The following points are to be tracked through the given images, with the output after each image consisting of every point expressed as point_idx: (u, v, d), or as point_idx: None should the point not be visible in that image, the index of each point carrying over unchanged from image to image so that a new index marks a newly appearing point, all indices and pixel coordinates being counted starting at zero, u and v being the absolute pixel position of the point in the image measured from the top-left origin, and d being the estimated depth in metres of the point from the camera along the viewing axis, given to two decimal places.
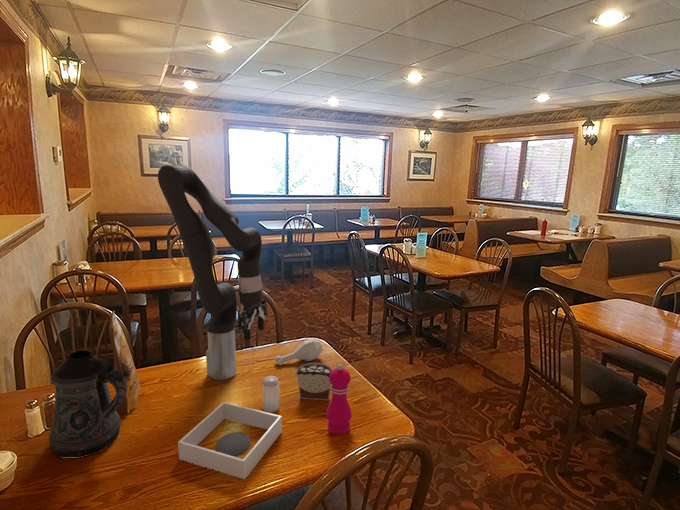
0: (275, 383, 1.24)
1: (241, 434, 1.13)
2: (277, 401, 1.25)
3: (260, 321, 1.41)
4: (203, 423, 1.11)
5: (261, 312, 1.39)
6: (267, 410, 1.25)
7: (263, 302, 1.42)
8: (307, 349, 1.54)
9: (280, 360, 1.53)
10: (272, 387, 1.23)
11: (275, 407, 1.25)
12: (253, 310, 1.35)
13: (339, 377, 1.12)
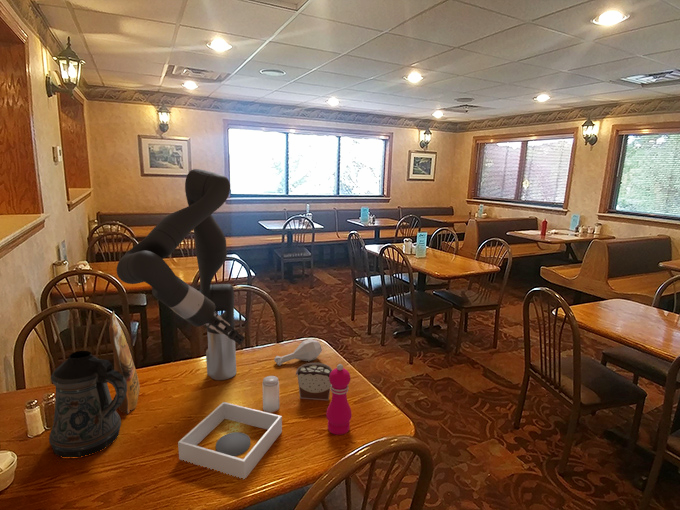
0: (275, 383, 1.24)
1: (241, 434, 1.13)
2: (277, 401, 1.25)
3: None
4: (203, 423, 1.11)
5: (217, 331, 1.07)
6: (267, 410, 1.25)
7: None
8: (306, 349, 1.54)
9: (279, 360, 1.52)
10: (272, 387, 1.23)
11: (275, 407, 1.25)
12: None
13: (339, 377, 1.12)
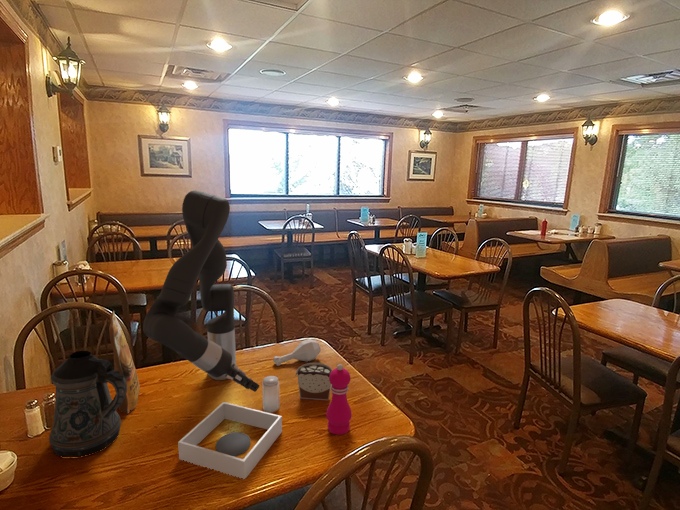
0: (275, 383, 1.24)
1: (241, 434, 1.13)
2: (277, 401, 1.25)
3: None
4: (203, 423, 1.11)
5: None
6: (267, 410, 1.25)
7: None
8: (305, 349, 1.54)
9: (278, 360, 1.52)
10: (272, 387, 1.23)
11: (275, 407, 1.25)
12: None
13: (339, 377, 1.12)
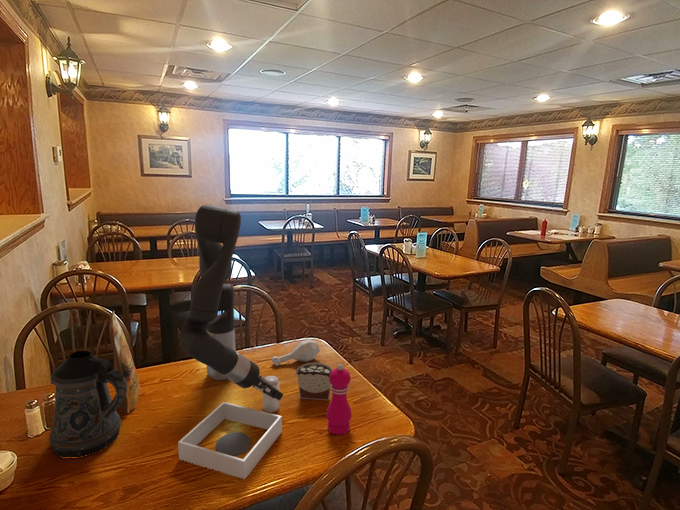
0: (275, 383, 1.24)
1: (241, 434, 1.13)
2: (277, 401, 1.25)
3: None
4: (203, 423, 1.11)
5: None
6: (267, 410, 1.25)
7: None
8: (303, 350, 1.54)
9: (277, 360, 1.52)
10: None
11: (275, 407, 1.25)
12: None
13: (339, 377, 1.12)
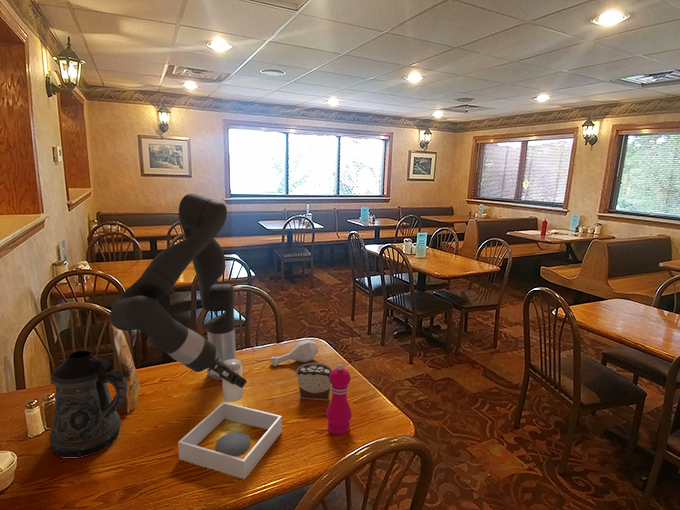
0: (237, 367, 1.04)
1: (241, 434, 1.13)
2: (239, 389, 1.05)
3: None
4: (203, 423, 1.11)
5: (218, 376, 1.01)
6: (227, 399, 1.04)
7: None
8: (302, 350, 1.53)
9: (275, 361, 1.52)
10: None
11: (237, 396, 1.05)
12: None
13: (339, 377, 1.12)
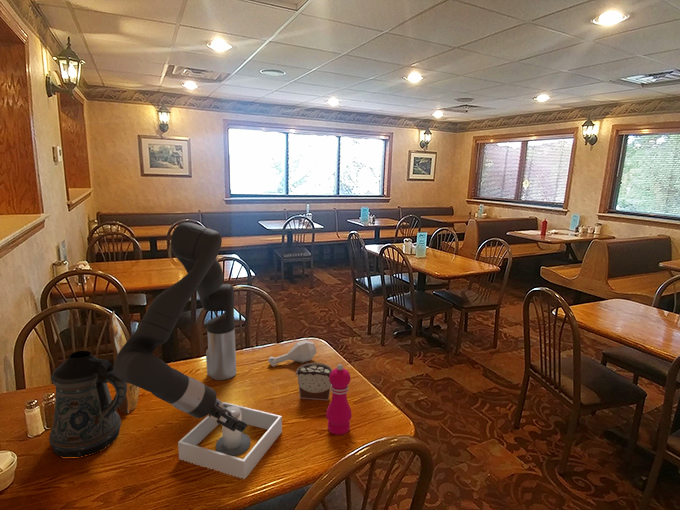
0: (236, 416, 1.06)
1: None
2: (239, 436, 1.08)
3: None
4: (203, 423, 1.11)
5: None
6: (227, 447, 1.07)
7: None
8: (300, 350, 1.53)
9: (273, 361, 1.52)
10: None
11: (236, 443, 1.08)
12: None
13: (339, 377, 1.12)
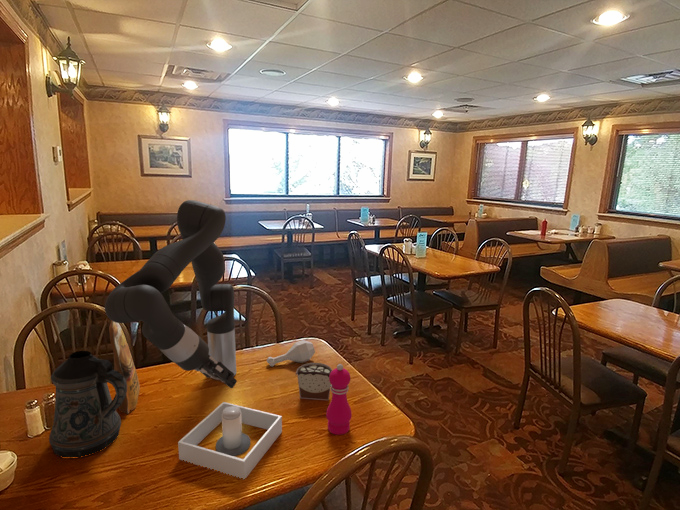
0: (236, 416, 1.06)
1: None
2: (239, 436, 1.08)
3: None
4: (203, 423, 1.11)
5: (209, 375, 0.96)
6: (227, 447, 1.07)
7: None
8: (299, 351, 1.53)
9: (271, 361, 1.52)
10: (232, 421, 1.06)
11: (236, 443, 1.08)
12: None
13: (339, 377, 1.12)
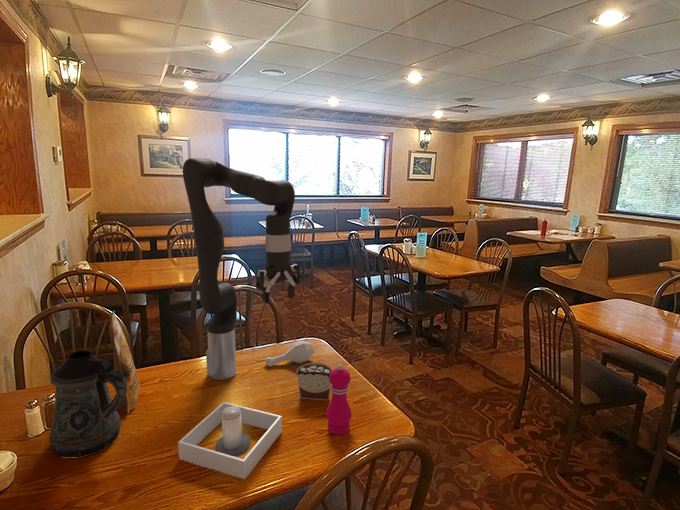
0: (236, 416, 1.06)
1: None
2: (239, 436, 1.08)
3: (289, 288, 1.27)
4: (203, 423, 1.11)
5: (289, 277, 1.24)
6: (227, 447, 1.07)
7: (295, 267, 1.26)
8: (297, 351, 1.52)
9: (270, 361, 1.51)
10: (232, 421, 1.06)
11: (236, 443, 1.08)
12: (276, 272, 1.21)
13: (339, 377, 1.12)
